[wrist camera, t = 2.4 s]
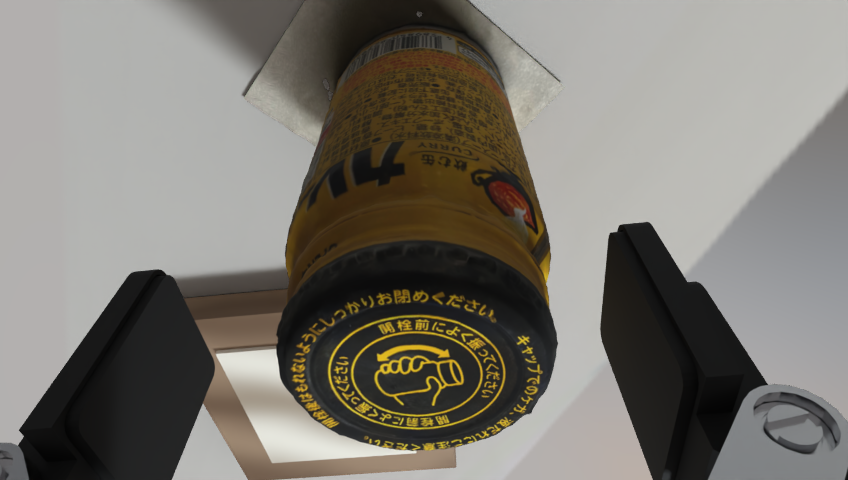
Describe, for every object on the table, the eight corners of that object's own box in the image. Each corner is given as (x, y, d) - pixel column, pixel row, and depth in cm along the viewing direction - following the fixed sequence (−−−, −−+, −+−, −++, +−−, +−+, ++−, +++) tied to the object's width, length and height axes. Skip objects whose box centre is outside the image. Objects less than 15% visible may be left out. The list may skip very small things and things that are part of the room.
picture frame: (169, 299, 25) (154, 326, 24) (430, 275, 24) (430, 302, 23) (255, 457, 33) (248, 484, 31) (454, 443, 32) (456, 470, 30)
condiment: (431, 219, 22) (438, 512, 13) (244, 96, 19) (66, 364, 10) (563, 84, 19) (708, 346, 9) (362, -93, 16) (269, 28, 6)
